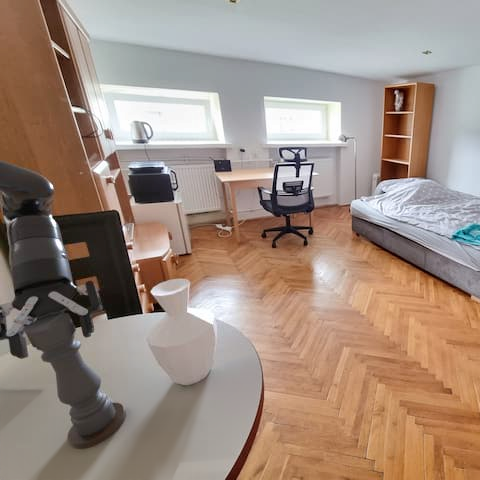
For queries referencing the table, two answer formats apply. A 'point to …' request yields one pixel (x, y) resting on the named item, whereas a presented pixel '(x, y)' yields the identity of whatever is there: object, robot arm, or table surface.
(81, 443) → the coaster
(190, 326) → the vase
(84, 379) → the candle holder
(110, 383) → the table surface
